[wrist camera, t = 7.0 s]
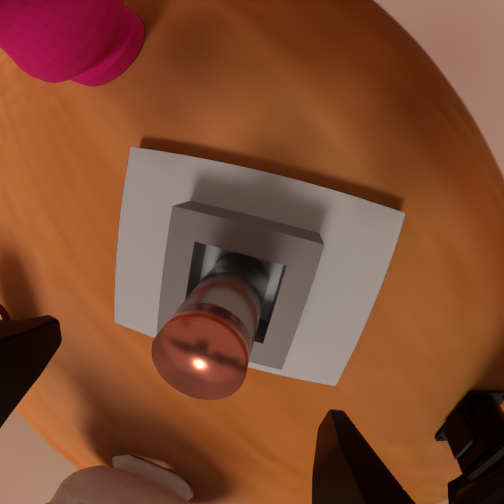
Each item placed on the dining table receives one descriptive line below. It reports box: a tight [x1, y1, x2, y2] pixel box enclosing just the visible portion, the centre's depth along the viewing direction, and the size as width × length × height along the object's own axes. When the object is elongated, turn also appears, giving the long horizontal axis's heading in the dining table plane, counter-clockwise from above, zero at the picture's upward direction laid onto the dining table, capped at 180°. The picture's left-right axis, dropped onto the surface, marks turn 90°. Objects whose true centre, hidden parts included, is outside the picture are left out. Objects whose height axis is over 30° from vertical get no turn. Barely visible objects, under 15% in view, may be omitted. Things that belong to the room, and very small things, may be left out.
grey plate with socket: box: [115, 147, 405, 386], centre depth 16 cm, size 16×12×4 cm
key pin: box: [152, 252, 268, 400], centre depth 13 cm, size 3×3×8 cm
